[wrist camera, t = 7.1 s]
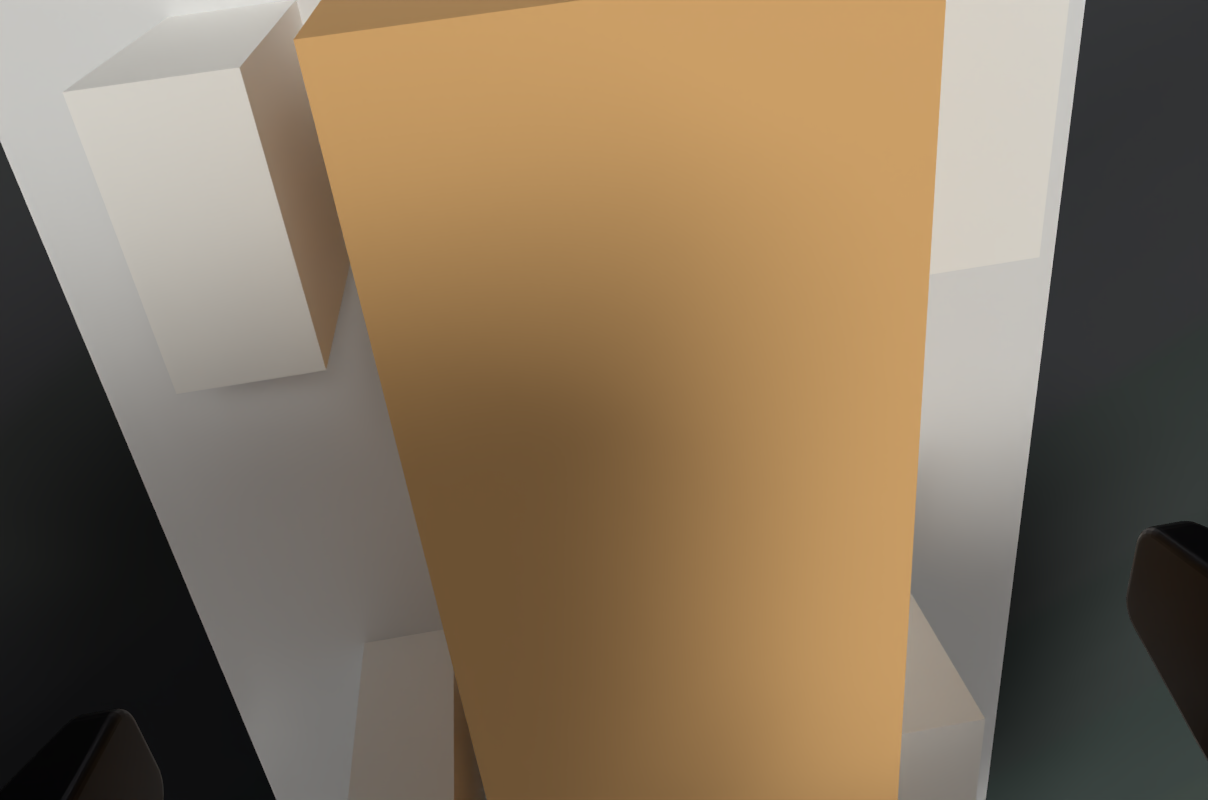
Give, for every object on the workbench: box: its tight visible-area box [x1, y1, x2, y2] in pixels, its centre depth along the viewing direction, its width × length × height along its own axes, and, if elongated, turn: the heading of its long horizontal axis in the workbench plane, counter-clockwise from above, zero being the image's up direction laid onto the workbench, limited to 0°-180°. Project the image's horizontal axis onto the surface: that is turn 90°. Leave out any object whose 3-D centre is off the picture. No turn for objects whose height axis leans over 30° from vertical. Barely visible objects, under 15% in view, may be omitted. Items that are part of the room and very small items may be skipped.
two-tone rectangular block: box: [293, 0, 946, 800], centre depth 11 cm, size 4×16×5 cm, turn 6°
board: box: [0, 0, 1085, 800], centre depth 13 cm, size 11×20×4 cm, turn 6°
